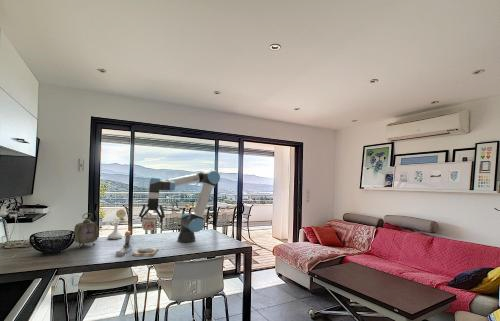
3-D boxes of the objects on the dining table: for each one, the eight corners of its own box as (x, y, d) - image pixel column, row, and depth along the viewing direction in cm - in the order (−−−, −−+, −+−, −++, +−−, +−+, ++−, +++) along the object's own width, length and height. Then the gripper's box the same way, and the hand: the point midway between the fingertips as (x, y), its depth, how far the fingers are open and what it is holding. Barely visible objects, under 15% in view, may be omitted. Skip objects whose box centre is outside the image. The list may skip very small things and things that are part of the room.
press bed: (158, 250, 195) (158, 248, 195) (153, 256, 181) (153, 253, 182) (138, 250, 194) (139, 247, 194) (132, 255, 180) (132, 253, 180)
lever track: (131, 249, 195) (132, 245, 195) (123, 256, 179) (123, 251, 179) (124, 249, 194) (125, 245, 194) (115, 256, 178) (116, 251, 178)
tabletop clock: (77, 249, 189) (80, 214, 190) (71, 247, 194) (74, 213, 195) (97, 245, 201) (100, 212, 203) (91, 243, 206) (94, 211, 208)
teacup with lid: (142, 230, 192) (143, 214, 193) (142, 228, 200) (144, 212, 201) (159, 230, 196) (160, 214, 197) (159, 228, 204) (160, 213, 205)
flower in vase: (106, 240, 218) (108, 209, 220) (109, 237, 229) (111, 208, 231) (123, 239, 222) (125, 210, 223) (125, 236, 232) (127, 208, 234)
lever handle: (131, 245, 194) (132, 230, 195) (129, 247, 190) (130, 231, 190) (125, 245, 194) (126, 230, 194) (122, 247, 189) (123, 231, 190)
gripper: (170, 198, 204) (168, 226, 202) (139, 196, 203) (136, 225, 201) (168, 199, 197) (165, 228, 195) (135, 197, 195) (133, 226, 194)
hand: (151, 226), depth 198 cm, fingers closed on teacup with lid, 12 cm apart
